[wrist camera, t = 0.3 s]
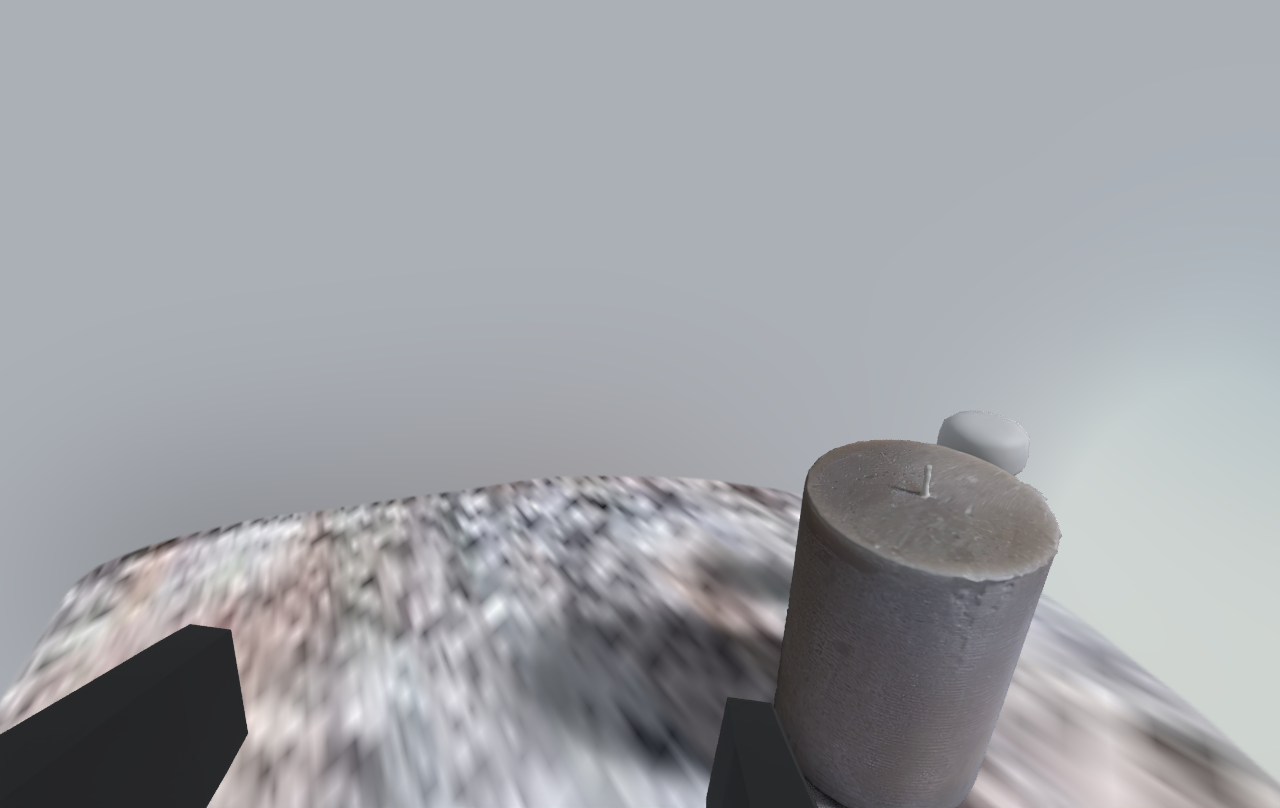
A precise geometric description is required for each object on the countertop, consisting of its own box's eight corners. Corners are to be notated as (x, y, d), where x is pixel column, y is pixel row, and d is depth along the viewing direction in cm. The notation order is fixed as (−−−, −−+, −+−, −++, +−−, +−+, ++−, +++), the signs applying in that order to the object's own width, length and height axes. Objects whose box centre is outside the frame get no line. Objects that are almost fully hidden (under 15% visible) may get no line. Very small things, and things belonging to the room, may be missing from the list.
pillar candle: (745, 668, 36) (768, 425, 30) (906, 638, 38) (961, 403, 31) (829, 851, 28) (888, 567, 21) (1031, 799, 30) (1143, 524, 23)
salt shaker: (871, 619, 40) (909, 424, 34) (907, 570, 43) (946, 388, 38) (976, 669, 36) (1037, 461, 31) (1004, 611, 40) (1062, 418, 34)
